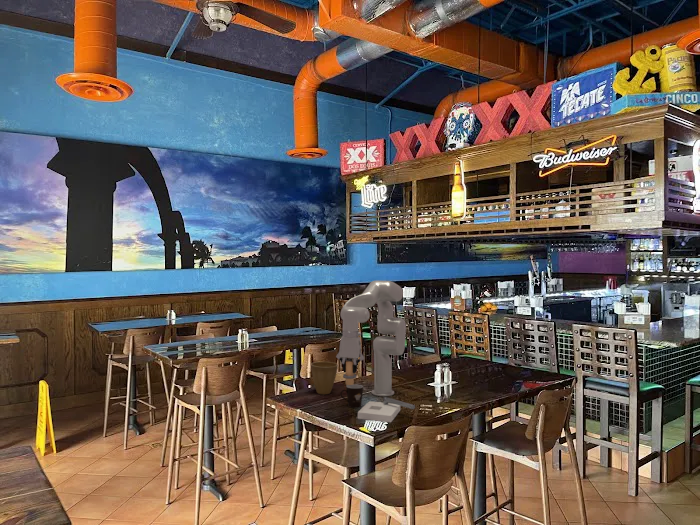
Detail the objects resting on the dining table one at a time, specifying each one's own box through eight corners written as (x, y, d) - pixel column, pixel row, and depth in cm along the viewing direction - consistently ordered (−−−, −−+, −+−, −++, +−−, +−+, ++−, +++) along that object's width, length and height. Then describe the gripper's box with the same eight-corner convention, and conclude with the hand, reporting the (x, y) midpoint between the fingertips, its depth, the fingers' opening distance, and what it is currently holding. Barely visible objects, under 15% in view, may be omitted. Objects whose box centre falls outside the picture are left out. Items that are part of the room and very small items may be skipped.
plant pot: (318, 397, 281) (318, 367, 281) (306, 391, 294) (306, 362, 294) (342, 394, 289) (342, 365, 289) (329, 388, 302) (329, 360, 301)
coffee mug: (362, 403, 271) (362, 384, 271) (363, 408, 263) (363, 388, 262) (339, 403, 271) (340, 384, 271) (340, 408, 262) (340, 388, 262)
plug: (345, 381, 257) (345, 357, 257) (357, 383, 255) (358, 358, 255) (341, 384, 251) (341, 359, 251) (354, 386, 249) (354, 360, 249)
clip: (382, 403, 260) (382, 397, 260) (385, 402, 262) (385, 396, 262) (411, 412, 246) (412, 406, 246) (415, 411, 248) (415, 405, 248)
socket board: (369, 407, 265) (369, 401, 265) (400, 410, 260) (400, 404, 260) (357, 418, 246) (357, 412, 246) (391, 422, 241) (391, 415, 241)
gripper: (369, 334, 254) (368, 372, 254) (336, 332, 259) (336, 369, 259) (364, 336, 247) (364, 375, 247) (331, 334, 252) (330, 372, 252)
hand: (349, 371), depth 253 cm, fingers closed on plug, 4 cm apart
